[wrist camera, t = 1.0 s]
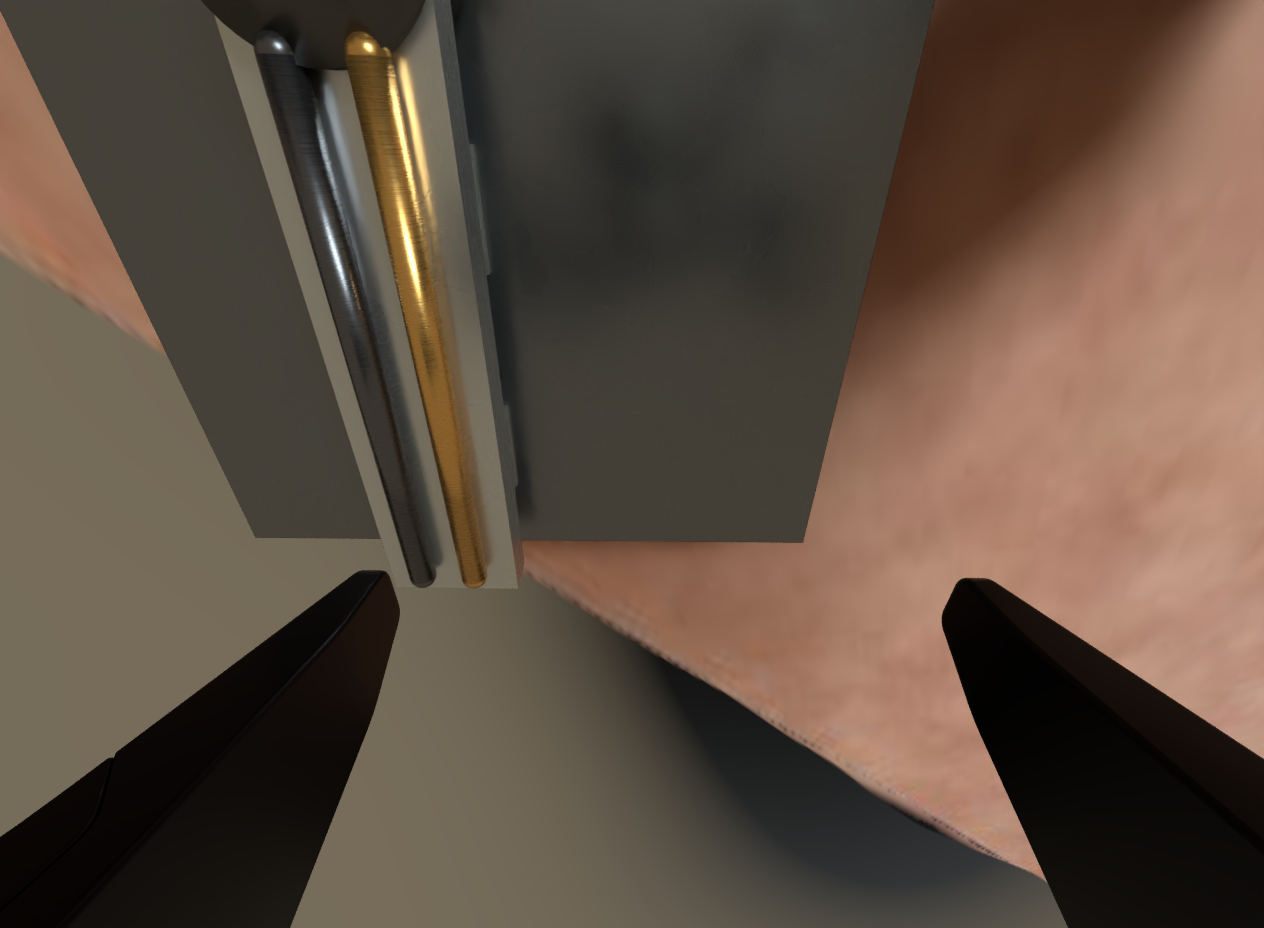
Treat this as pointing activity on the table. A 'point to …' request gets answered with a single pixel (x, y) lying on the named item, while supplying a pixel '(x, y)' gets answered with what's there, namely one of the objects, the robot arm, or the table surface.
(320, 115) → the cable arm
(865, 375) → the table surface
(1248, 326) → the table surface
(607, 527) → the grey flat block
